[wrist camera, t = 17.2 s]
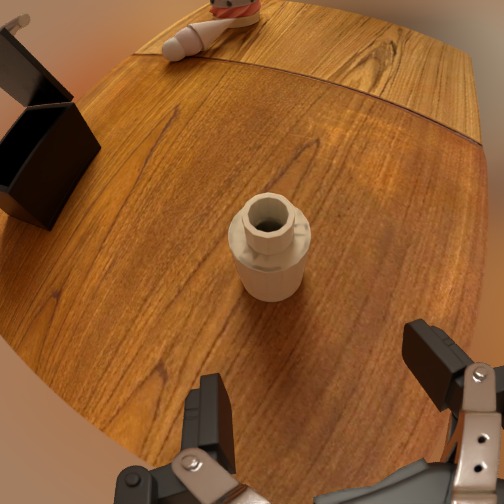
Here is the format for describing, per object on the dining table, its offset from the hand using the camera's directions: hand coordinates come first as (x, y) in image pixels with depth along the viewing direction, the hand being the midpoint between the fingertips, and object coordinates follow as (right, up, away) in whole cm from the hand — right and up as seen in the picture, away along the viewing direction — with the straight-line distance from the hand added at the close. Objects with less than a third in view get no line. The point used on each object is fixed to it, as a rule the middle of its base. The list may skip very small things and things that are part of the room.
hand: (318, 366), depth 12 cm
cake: (-6, +54, +40) cm, 67 cm away
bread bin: (-31, +15, +24) cm, 42 cm away
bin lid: (-31, +25, +11) cm, 41 cm away
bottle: (-1, +3, +16) cm, 16 cm away
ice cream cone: (-11, +41, +34) cm, 55 cm away
